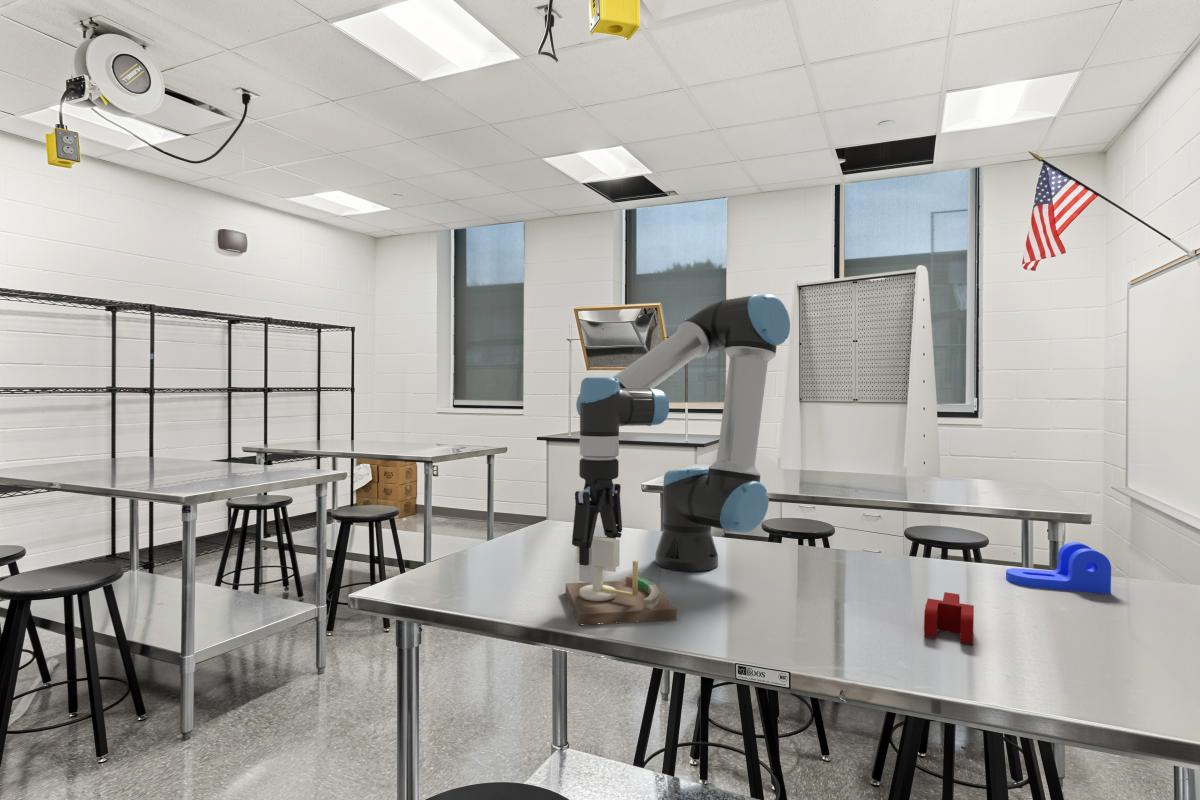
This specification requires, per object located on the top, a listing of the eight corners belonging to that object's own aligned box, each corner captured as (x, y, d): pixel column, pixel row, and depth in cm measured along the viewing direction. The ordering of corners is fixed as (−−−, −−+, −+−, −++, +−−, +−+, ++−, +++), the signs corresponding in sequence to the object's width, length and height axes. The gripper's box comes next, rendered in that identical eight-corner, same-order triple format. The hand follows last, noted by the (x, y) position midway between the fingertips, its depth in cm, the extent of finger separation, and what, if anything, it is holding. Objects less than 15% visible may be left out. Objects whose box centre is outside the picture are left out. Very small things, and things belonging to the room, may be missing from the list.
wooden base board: (650, 589, 134) (650, 572, 134) (676, 619, 116) (676, 600, 116) (565, 593, 131) (565, 576, 131) (578, 625, 112) (578, 605, 112)
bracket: (1093, 583, 142) (1094, 543, 142) (1110, 594, 134) (1111, 552, 134) (1001, 575, 147) (1001, 537, 147) (1012, 586, 139) (1013, 545, 139)
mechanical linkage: (972, 649, 104) (973, 619, 104) (923, 640, 108) (924, 611, 108) (973, 620, 118) (974, 593, 118) (930, 613, 121) (930, 586, 121)
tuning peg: (589, 587, 127) (589, 532, 127) (645, 597, 121) (646, 540, 121) (570, 596, 121) (570, 539, 121) (628, 608, 115) (629, 547, 115)
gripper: (608, 452, 133) (607, 561, 133) (552, 461, 115) (551, 586, 115) (640, 454, 129) (639, 566, 129) (588, 463, 111) (586, 593, 111)
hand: (597, 575), depth 122 cm, fingers open, 8 cm apart
